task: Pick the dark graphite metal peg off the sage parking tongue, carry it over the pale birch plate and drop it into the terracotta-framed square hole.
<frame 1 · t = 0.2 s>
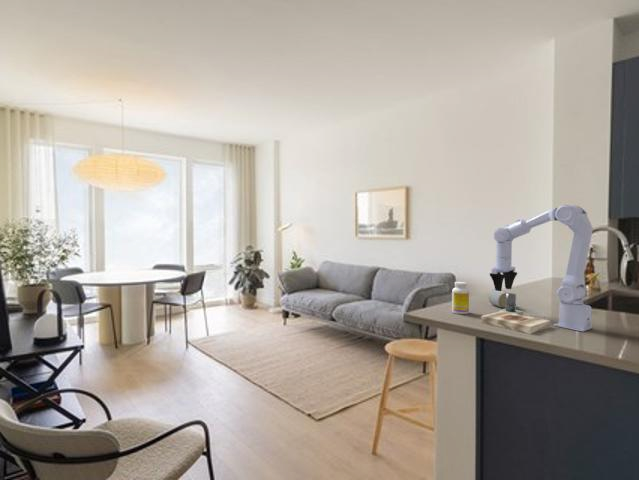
hand: (503, 289, 155), 10 cm above the countertop, fingers open, 7 cm apart
hole plate: (514, 324, 138), on the countertop
peg: (510, 310, 151), point 2 cm above the countertop, touching parking tongue
ceramic mug: (503, 307, 169), on the countertop
supplement bottle: (460, 313, 157), on the countertop
parking tongue: (510, 315, 152), on the countertop
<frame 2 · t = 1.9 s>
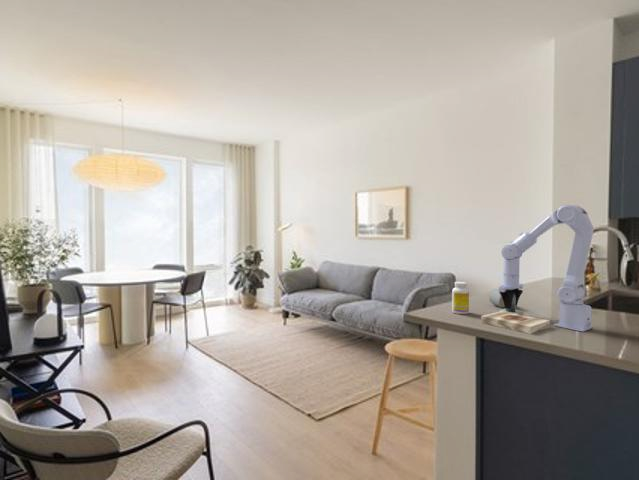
hand: (510, 307, 151), 3 cm above the countertop, fingers closed on peg, 4 cm apart
peg: (510, 310, 151), point 2 cm above the countertop, touching gripper, parking tongue
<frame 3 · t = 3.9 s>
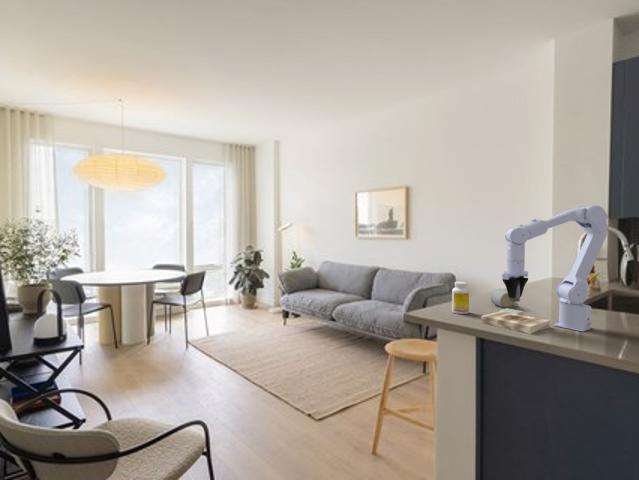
hand: (515, 297, 138), 10 cm above the countertop, fingers closed on peg, 4 cm apart
peg: (514, 300, 138), point 9 cm above the countertop, touching gripper
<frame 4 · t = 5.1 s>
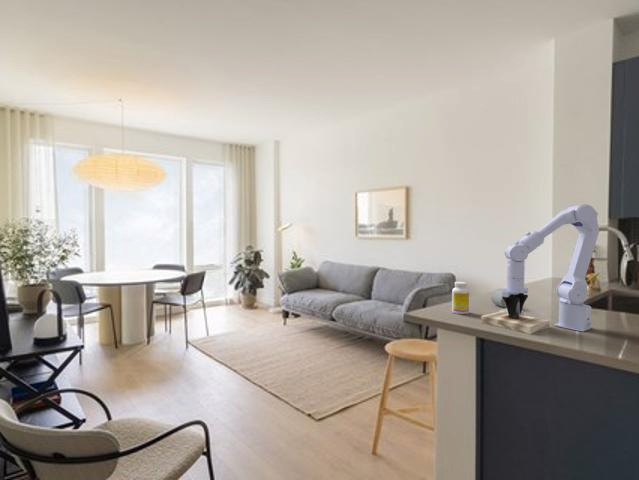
hand: (514, 314, 138), 4 cm above the countertop, fingers closed on peg, 4 cm apart
peg: (514, 317, 138), point 3 cm above the countertop, touching gripper
when the fingers open (4 cm above the countertop, at t = 6.0 s): peg drops 2 cm, resting in hole plate.
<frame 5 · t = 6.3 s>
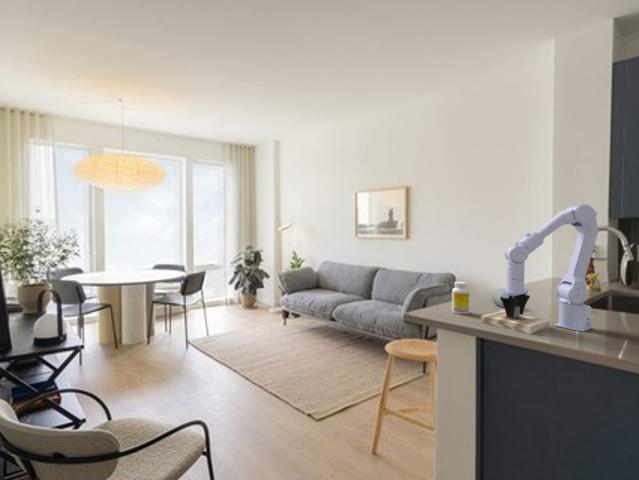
hand: (514, 315, 138), 4 cm above the countertop, fingers open, 6 cm apart
peg: (513, 324, 138), resting in hole plate
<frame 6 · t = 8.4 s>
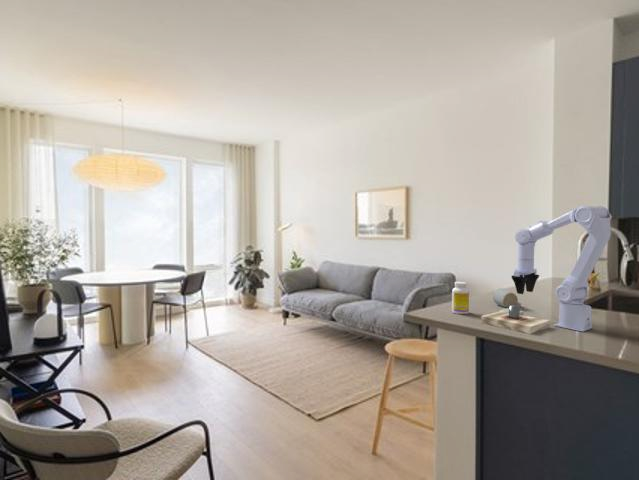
hand: (525, 292, 151), 9 cm above the countertop, fingers open, 7 cm apart
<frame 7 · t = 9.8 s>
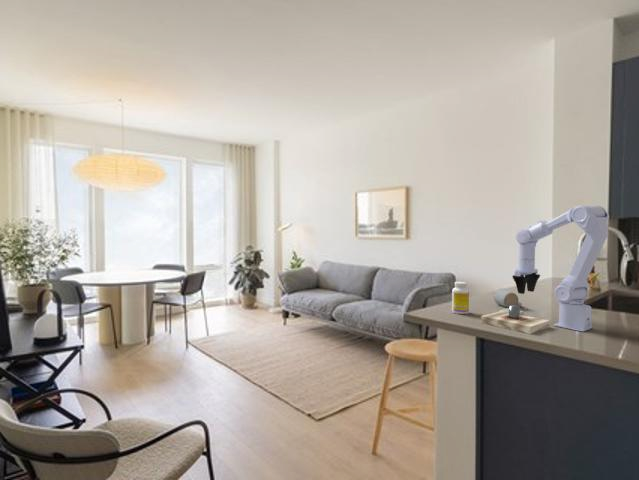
hand: (526, 292, 152), 9 cm above the countertop, fingers open, 7 cm apart
at the end: peg 0.2 cm off-centre on the hole plate, point 0.0 cm above the hole plate's base; peg tilted 0°; the gripper is holding nothing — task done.
